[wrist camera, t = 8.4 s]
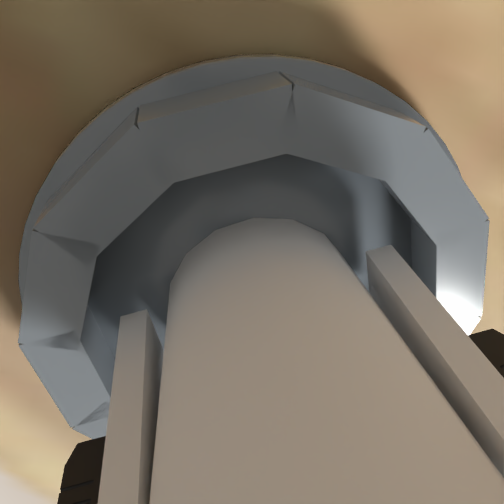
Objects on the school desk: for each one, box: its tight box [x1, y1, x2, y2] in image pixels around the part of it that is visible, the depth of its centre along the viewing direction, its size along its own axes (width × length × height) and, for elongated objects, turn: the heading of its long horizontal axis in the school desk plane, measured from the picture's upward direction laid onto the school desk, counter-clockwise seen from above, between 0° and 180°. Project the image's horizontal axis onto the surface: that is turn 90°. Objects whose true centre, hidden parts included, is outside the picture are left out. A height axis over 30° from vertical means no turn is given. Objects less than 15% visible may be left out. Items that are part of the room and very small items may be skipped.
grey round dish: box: [18, 54, 489, 439], centre depth 15 cm, size 14×14×2 cm
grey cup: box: [149, 218, 504, 504], centre depth 11 cm, size 7×7×10 cm
